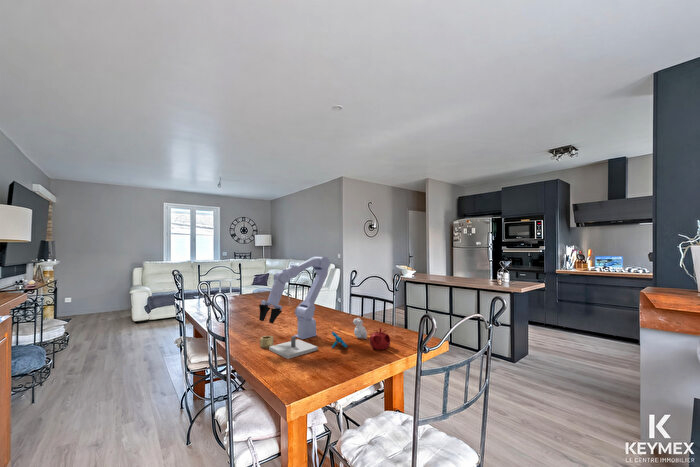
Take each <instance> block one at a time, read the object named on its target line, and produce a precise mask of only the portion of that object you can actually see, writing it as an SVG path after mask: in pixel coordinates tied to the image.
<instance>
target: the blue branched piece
mask: <svg viewBox="0 0 700 467" xmlns="http://www.w3.org/2000/svg"><path fill="white" fill-rule="evenodd" d="M331 335H332V336H333V337H334V338H335V341H334V342H333V343H332V345H331V348H332V349H334V348H335V347H336V346H337V345H338V344H341V345H342V346H343V347H344V348H346V349H347V348H348V345H347V343H345V341H344V340H343V339H342V337H340V336H339V335H338V334H337V333H335V331H332V332H331Z"/></svg>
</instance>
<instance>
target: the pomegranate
mask: <svg viewBox="0 0 700 467" xmlns="http://www.w3.org/2000/svg"><path fill="white" fill-rule="evenodd" d="M378 329H379V331H378V330H377V329H375V330H374V331H373V332H372V334H371V335H370V337H369V338H368V341H369V344H370V346H371V348H372V349H375V350H378V351H381V350H387V349H388V348H389V347H390V345H391V337H390V335H389V334H388V333H385V332H387V331H386V330H383V329H382V327H379V328H378ZM382 330H383V331H382Z"/></svg>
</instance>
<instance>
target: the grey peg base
mask: <svg viewBox="0 0 700 467" xmlns="http://www.w3.org/2000/svg"><path fill="white" fill-rule="evenodd" d="M296 338H297V337H295V336H294V335H292V336H291V337H290V339H291V340H289V341H286V342H283V343H278V344H275V345H274V344H273V346H270V347H269V348H268V350H269V351H270V352H272V353H275V354H277V355H279V356H280V357H283V358H284V359H287V360H289V359H291V358H296V357H299V356H302V355H303V356H304V355H306V354H308V353H312V352H316V351H318V350H319V348H318V346H317V345H314V344H312V343H309V342H306V341H303V340H302V339H300V338H298V339H296Z"/></svg>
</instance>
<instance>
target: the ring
mask: <svg viewBox="0 0 700 467" xmlns="http://www.w3.org/2000/svg"><path fill="white" fill-rule="evenodd" d="M259 341H260V342H259V346H260V348H262V349H269V347H270V346H274V336H273V335H264V336H261V337H260V338H259Z"/></svg>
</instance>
